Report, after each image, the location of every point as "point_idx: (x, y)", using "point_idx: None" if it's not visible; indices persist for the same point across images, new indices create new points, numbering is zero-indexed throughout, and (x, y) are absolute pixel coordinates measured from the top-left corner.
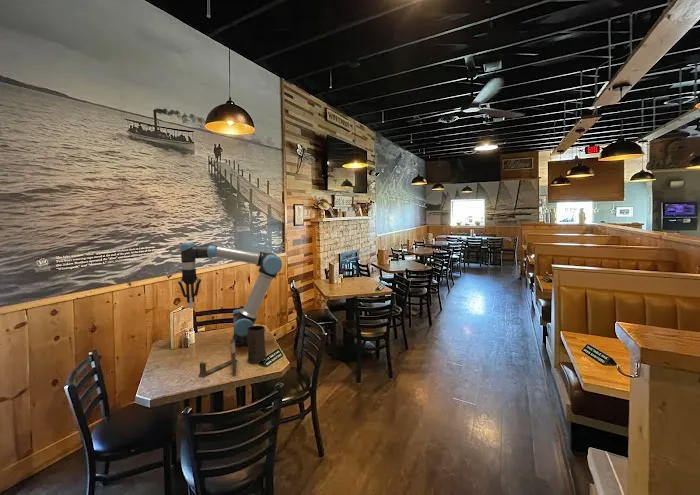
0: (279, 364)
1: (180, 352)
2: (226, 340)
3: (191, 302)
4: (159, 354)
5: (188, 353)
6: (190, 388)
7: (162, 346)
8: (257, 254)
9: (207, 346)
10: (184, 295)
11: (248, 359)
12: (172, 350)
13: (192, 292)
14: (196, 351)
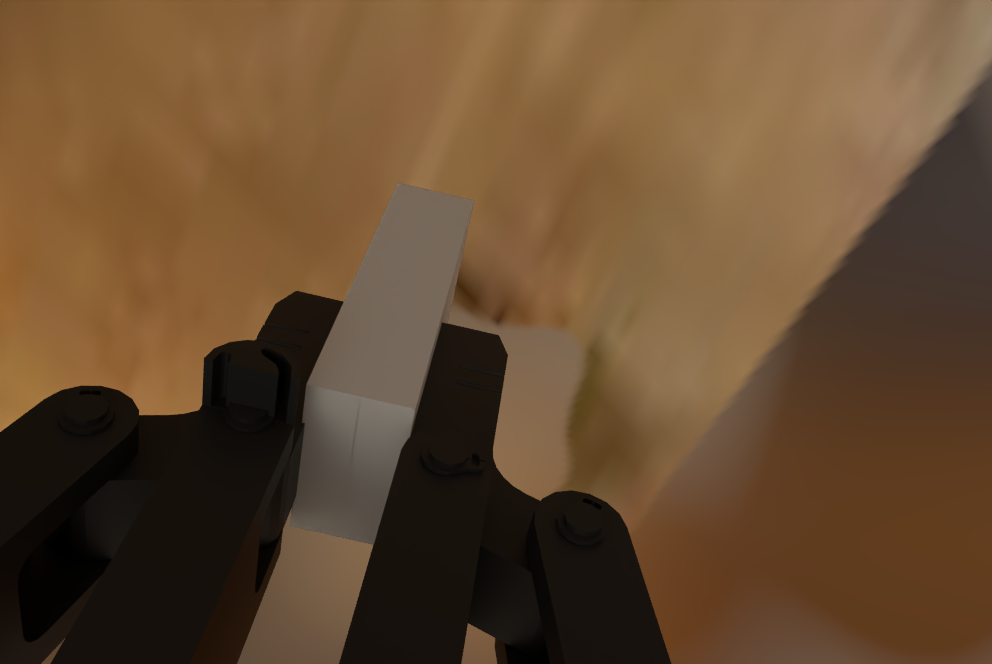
0: None
1: (572, 201)
2: (38, 128)
3: (392, 283)
4: (740, 318)
5: (525, 101)
6: None
7: (615, 476)
8: None
9: (279, 129)
10: (606, 557)
11: None
12: (601, 316)
13: (206, 551)
14: (434, 85)
